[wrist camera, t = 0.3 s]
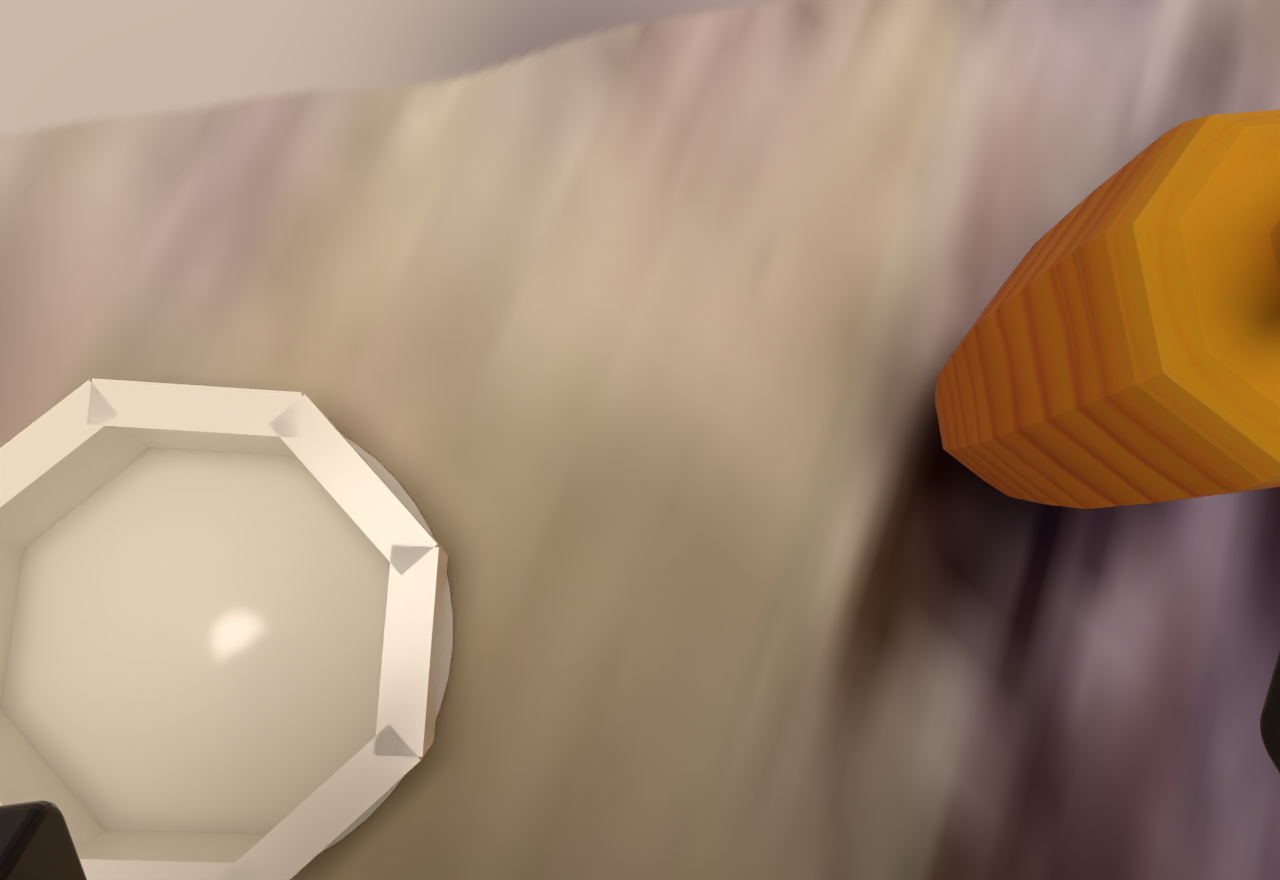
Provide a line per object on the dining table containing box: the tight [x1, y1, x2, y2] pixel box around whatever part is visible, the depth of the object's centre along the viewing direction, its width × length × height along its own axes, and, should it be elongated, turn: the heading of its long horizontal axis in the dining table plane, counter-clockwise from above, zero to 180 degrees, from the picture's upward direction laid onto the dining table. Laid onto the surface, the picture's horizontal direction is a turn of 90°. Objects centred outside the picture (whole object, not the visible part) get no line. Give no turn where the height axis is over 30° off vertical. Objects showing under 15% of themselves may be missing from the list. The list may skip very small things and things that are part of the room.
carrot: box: [935, 110, 1280, 509], centre depth 16 cm, size 5×5×15 cm
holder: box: [0, 379, 454, 880], centre depth 20 cm, size 9×9×3 cm
